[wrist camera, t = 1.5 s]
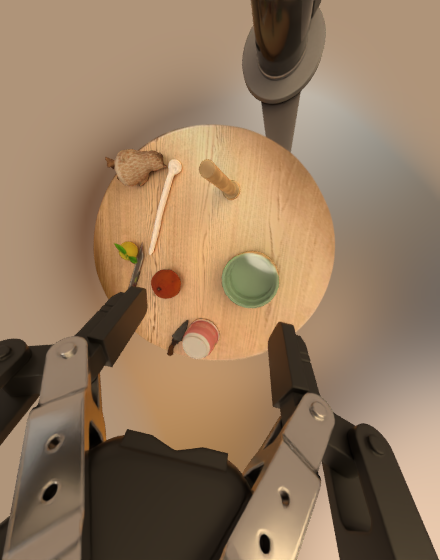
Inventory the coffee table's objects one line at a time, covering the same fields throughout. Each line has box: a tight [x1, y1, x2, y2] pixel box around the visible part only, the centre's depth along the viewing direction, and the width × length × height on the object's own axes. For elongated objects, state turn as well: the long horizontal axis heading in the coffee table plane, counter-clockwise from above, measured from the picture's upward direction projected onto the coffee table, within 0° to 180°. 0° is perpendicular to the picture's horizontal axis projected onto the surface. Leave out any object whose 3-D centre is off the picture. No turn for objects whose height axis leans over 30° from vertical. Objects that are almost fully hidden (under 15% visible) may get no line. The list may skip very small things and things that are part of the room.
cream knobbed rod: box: [149, 159, 182, 255], centre depth 53 cm, size 28×4×3 cm, turn 158°
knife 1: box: [129, 243, 143, 288], centre depth 63 cm, size 3×2×30 cm
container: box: [183, 319, 219, 359], centre depth 57 cm, size 10×10×8 cm
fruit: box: [151, 270, 181, 299], centre depth 56 cm, size 9×9×8 cm
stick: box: [199, 159, 240, 200], centre depth 39 cm, size 4×4×18 cm
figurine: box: [105, 149, 166, 186], centre depth 49 cm, size 9×10×15 cm
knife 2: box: [167, 320, 188, 356], centre depth 63 cm, size 17×2×5 cm
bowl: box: [222, 251, 279, 308], centre depth 49 cm, size 14×14×6 cm
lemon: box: [114, 242, 138, 264], centre depth 57 cm, size 7×6×10 cm
